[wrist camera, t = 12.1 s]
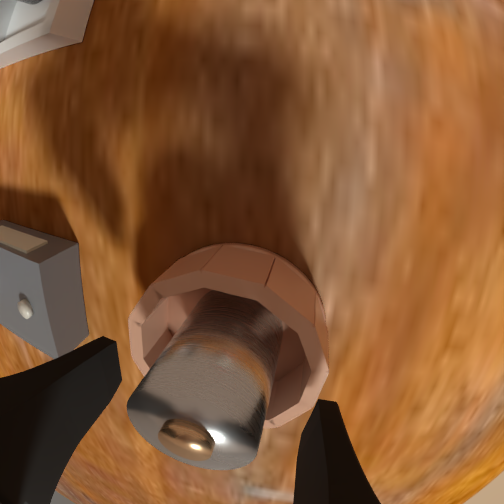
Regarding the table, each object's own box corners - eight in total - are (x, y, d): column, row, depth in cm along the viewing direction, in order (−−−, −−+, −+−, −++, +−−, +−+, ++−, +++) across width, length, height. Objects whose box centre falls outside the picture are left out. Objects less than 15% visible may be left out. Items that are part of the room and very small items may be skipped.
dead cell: (194, 352, 14) (135, 455, 8) (193, 278, 12) (107, 378, 7) (276, 369, 13) (249, 488, 7) (289, 294, 12) (262, 423, 6)
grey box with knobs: (15, 296, 17) (-16, 317, 14) (2, 217, 15) (-35, 232, 12) (89, 334, 16) (56, 366, 13) (78, 240, 14) (32, 264, 11)
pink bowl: (161, 362, 15) (136, 398, 12) (162, 225, 12) (124, 248, 10) (300, 399, 14) (295, 444, 12) (348, 266, 11) (357, 303, 9)
